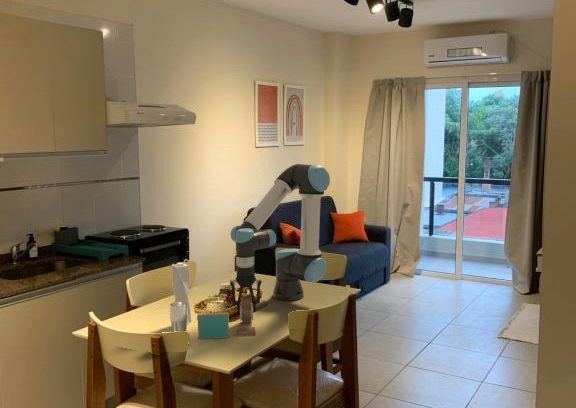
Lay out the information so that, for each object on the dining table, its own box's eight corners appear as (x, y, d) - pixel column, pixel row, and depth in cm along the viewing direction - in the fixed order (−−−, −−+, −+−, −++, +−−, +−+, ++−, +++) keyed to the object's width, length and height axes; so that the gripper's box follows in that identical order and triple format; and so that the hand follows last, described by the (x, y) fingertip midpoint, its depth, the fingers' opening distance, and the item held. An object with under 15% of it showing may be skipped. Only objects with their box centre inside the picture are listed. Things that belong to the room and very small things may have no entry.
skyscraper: (195, 321, 242) (192, 257, 237) (188, 327, 234) (186, 262, 230) (178, 320, 243) (175, 257, 239) (171, 326, 236) (168, 261, 232)
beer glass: (167, 340, 220) (165, 304, 218) (182, 336, 225) (181, 300, 223) (177, 345, 215) (175, 308, 213) (192, 340, 220) (191, 303, 218)
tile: (229, 336, 224) (228, 312, 223) (228, 338, 222) (228, 314, 221) (198, 337, 224) (197, 313, 222) (198, 339, 221) (197, 315, 220)
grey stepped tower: (238, 321, 240) (237, 294, 238) (255, 321, 241) (254, 293, 239) (237, 335, 224) (237, 306, 223) (255, 335, 225) (254, 305, 223)
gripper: (224, 268, 231) (226, 323, 234) (266, 267, 232) (267, 321, 235) (225, 264, 238) (227, 317, 241) (265, 262, 239) (266, 315, 243)
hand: (246, 319), depth 238 cm, fingers closed on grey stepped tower, 4 cm apart
